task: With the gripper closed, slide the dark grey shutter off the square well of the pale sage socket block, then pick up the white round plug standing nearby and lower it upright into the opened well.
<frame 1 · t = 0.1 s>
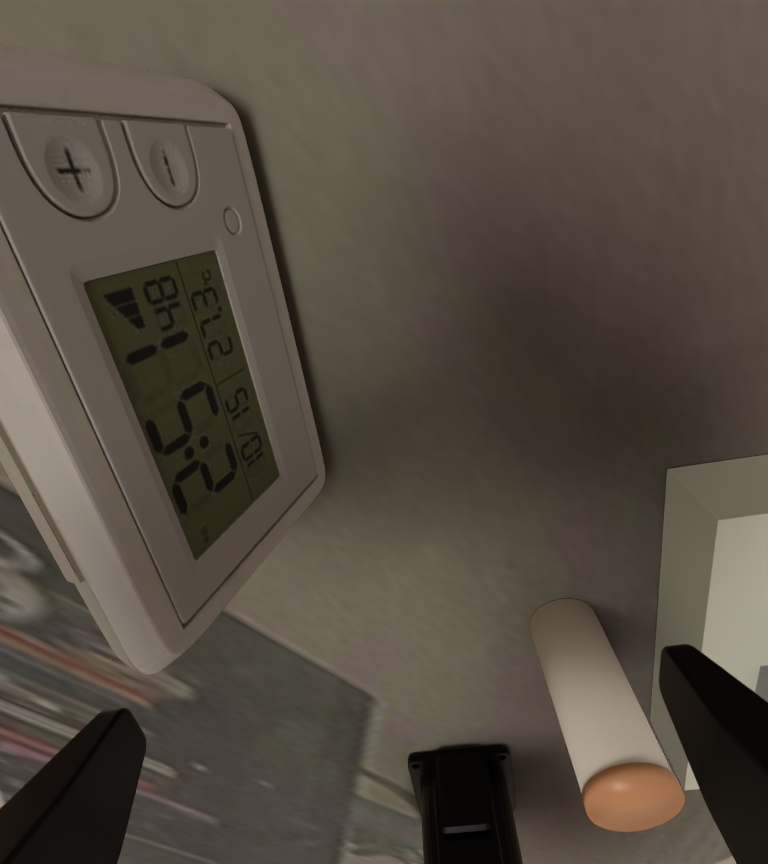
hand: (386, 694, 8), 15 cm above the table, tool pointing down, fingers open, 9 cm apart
plug: (562, 623, 27), on the table
digital clock: (229, 324, 21), on the table
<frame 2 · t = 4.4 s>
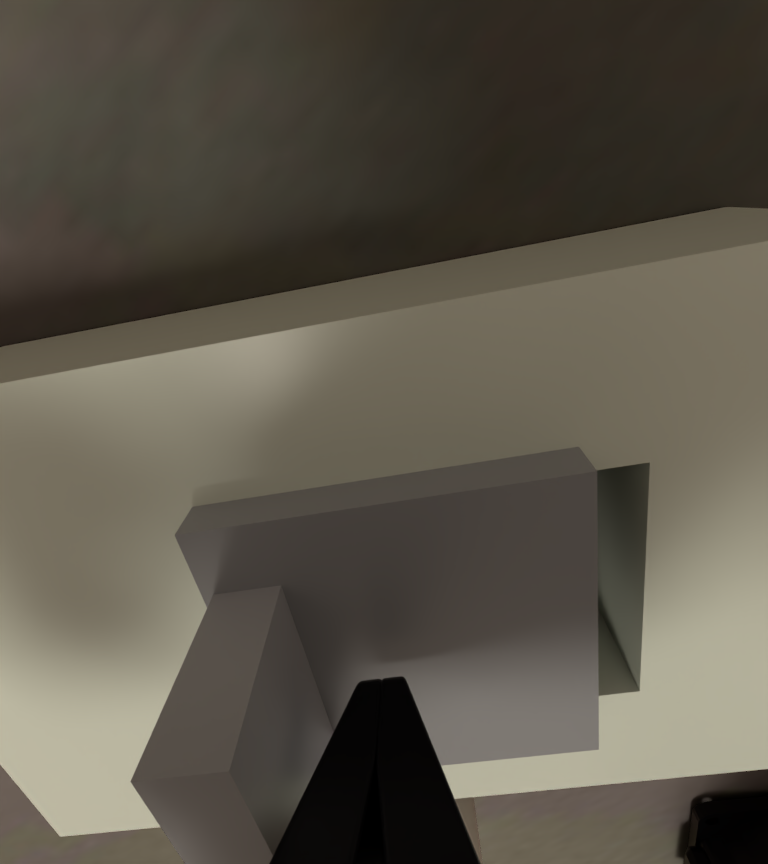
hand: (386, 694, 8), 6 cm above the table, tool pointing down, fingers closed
socket block: (355, 513, 14), on the table
plug: (418, 761, 18), on the table
shutter: (414, 711, 8), point 6 cm above the table, slide at 1.6 cm, touching gripper
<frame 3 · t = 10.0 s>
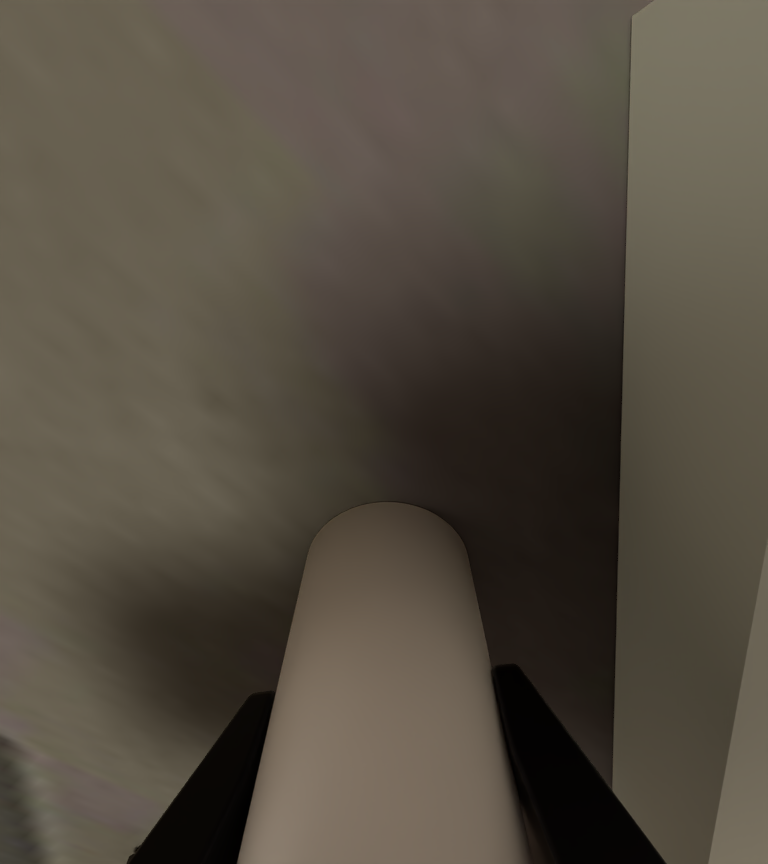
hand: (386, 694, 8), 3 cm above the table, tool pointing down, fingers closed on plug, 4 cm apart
plug: (387, 570, 11), on the table, touching gripper
when the fingers open (5 cm above the table, at t = 13.2 s): plug drops 2 cm, resting in socket block.
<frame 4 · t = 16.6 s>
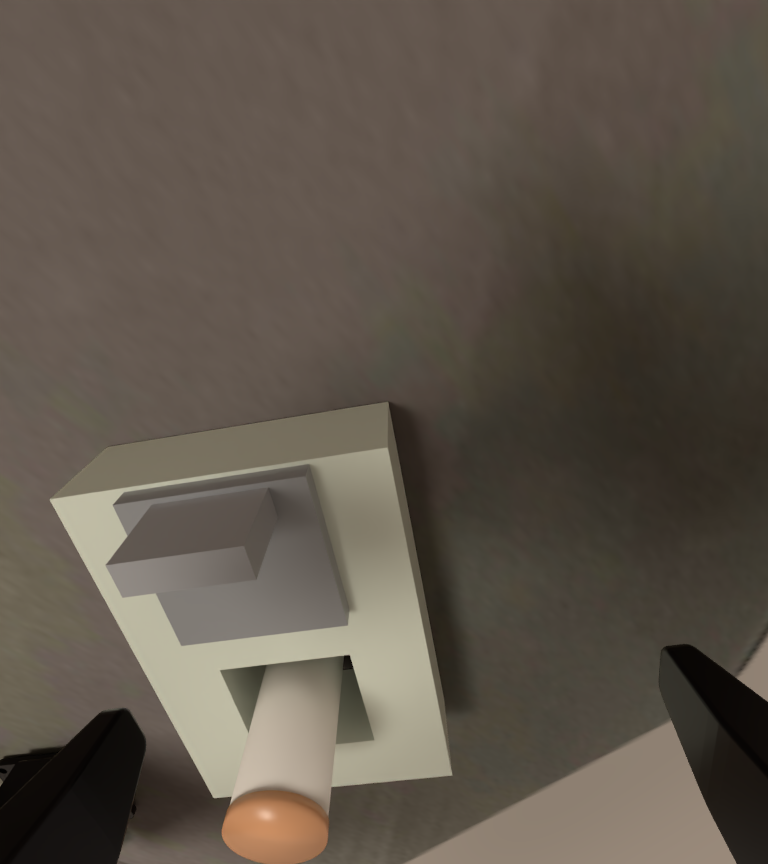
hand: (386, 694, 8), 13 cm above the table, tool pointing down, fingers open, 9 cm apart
socket block: (298, 590, 24), on the table
plug: (311, 633, 26), resting in socket block
shutter: (228, 591, 17), point 6 cm above the table, slide at 8.5 cm
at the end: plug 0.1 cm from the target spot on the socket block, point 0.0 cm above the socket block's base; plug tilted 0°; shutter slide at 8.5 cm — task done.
